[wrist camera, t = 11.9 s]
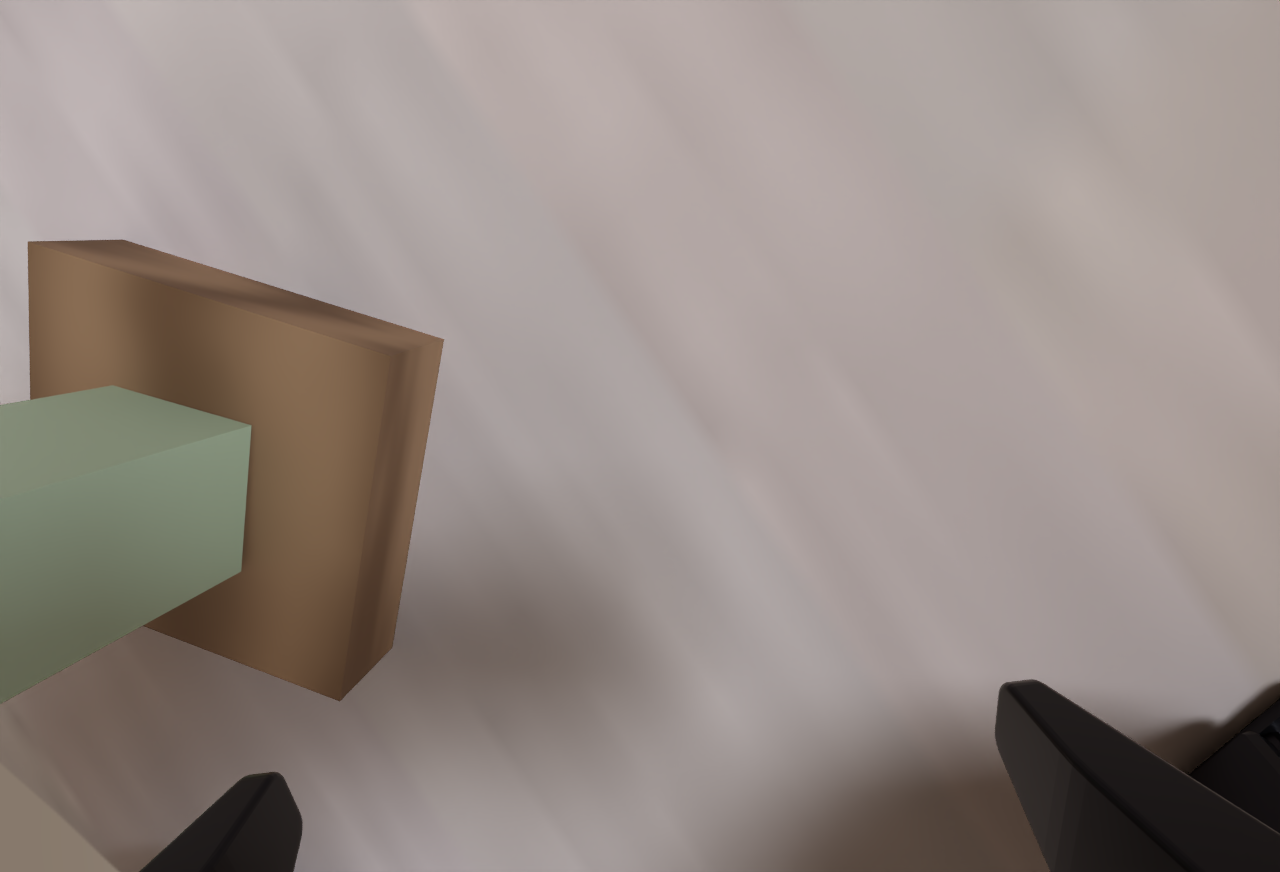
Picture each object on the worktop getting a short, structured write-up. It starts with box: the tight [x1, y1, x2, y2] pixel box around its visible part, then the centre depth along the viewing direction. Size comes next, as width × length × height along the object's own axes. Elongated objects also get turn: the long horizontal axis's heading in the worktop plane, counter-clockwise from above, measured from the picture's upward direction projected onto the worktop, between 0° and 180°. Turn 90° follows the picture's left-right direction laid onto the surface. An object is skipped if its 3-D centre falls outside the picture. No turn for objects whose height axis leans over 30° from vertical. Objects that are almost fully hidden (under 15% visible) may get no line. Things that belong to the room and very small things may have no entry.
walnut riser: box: [28, 240, 444, 701], centre depth 23 cm, size 11×11×4 cm
